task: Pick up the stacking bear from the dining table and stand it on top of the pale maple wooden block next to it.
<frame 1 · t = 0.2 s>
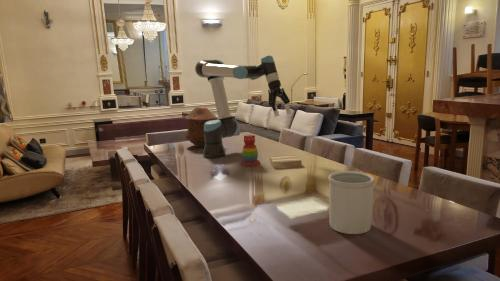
hand: (283, 115, 216), 28 cm above the table, tool tilted 20°, fingers open, 13 cm apart
maple block: (285, 164, 211), on the table
stacking bear: (250, 165, 214), on the table
pottery vessel: (202, 146, 278), on the table
utensil holder: (350, 226, 123), on the table
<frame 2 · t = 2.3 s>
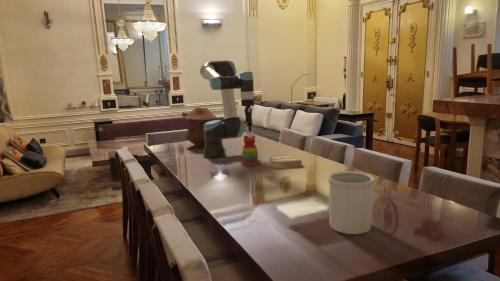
hand: (249, 135, 210), 18 cm above the table, tool pointing down, fingers open, 13 cm apart
nothing on the table moved.
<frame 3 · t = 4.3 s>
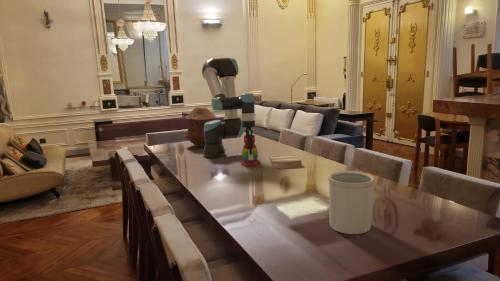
hand: (250, 157, 213), 4 cm above the table, tool pointing down, fingers closed on stacking bear, 9 cm apart
stacking bear: (250, 164, 214), on the table, touching gripper
everything else where it was.
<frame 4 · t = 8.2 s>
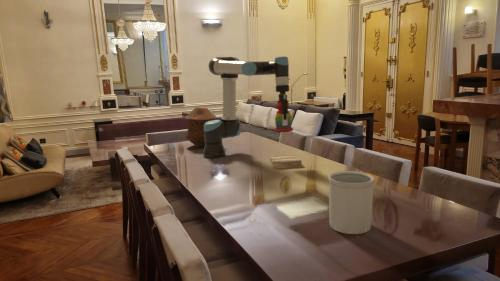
hand: (283, 124, 207), 24 cm above the table, tool pointing down, fingers closed on stacking bear, 9 cm apart
stacking bear: (283, 131, 208), point 19 cm above the table, touching gripper
everything else where it was.
when the fingers open (9 cm above the table, at t = 11.9 s): stacking bear drops 1 cm, resting on maple block.
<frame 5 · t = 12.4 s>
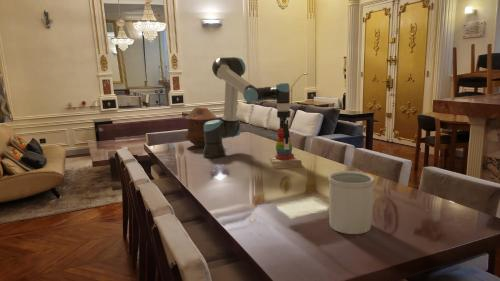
hand: (284, 147, 209), 10 cm above the table, tool pointing down, fingers open, 13 cm apart
maple block: (285, 165, 211), on the table, touching stacking bear
stacking bear: (284, 158, 211), point 3 cm above the table, touching maple block
everything else where it was.
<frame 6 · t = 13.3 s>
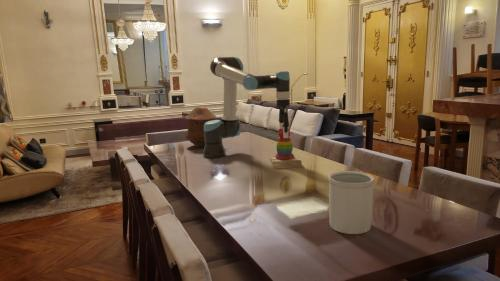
hand: (283, 135, 208), 17 cm above the table, tool pointing down, fingers open, 13 cm apart
nothing on the table moved.
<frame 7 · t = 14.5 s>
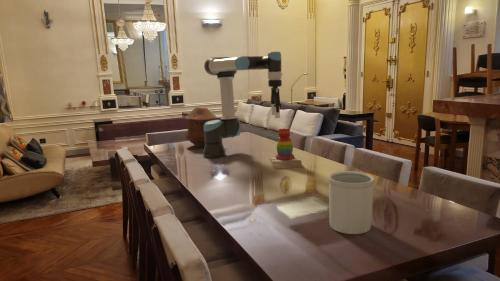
hand: (275, 116, 210), 28 cm above the table, tool pointing down, fingers open, 13 cm apart
nothing on the table moved.
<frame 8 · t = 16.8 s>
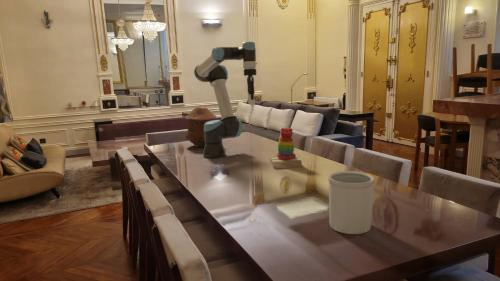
hand: (251, 104, 218), 35 cm above the table, tool pointing down, fingers open, 13 cm apart
at the end: stacking bear inside the target area on the maple block (0.7 cm from its centre), point 4.3 cm above the maple block's base; stacking bear tilted 6°; stacking bear touching maple block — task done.
